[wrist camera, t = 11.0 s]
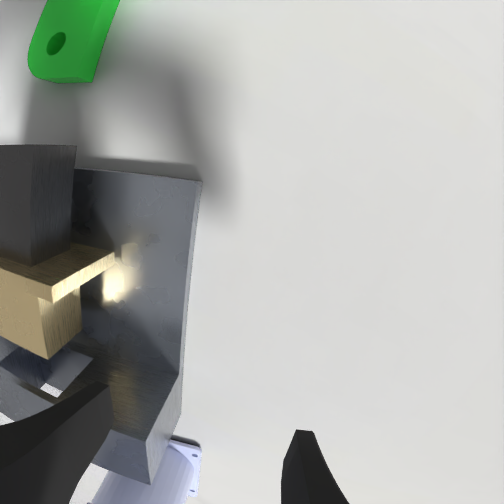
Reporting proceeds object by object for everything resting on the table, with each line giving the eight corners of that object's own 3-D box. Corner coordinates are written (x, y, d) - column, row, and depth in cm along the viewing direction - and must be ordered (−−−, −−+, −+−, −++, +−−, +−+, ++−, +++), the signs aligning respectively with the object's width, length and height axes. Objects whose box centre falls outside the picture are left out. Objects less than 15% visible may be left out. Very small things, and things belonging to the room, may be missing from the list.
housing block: (180, 413, 22) (150, 485, 15) (14, 348, 23) (-33, 386, 16) (202, 181, 17) (147, 191, 10) (-2, 163, 18) (-72, 171, 11)
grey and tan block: (114, 330, 19) (65, 381, 13) (21, 297, 19) (-31, 329, 13) (123, 148, 16) (54, 144, 10) (20, 145, 16) (-45, 147, 10)
